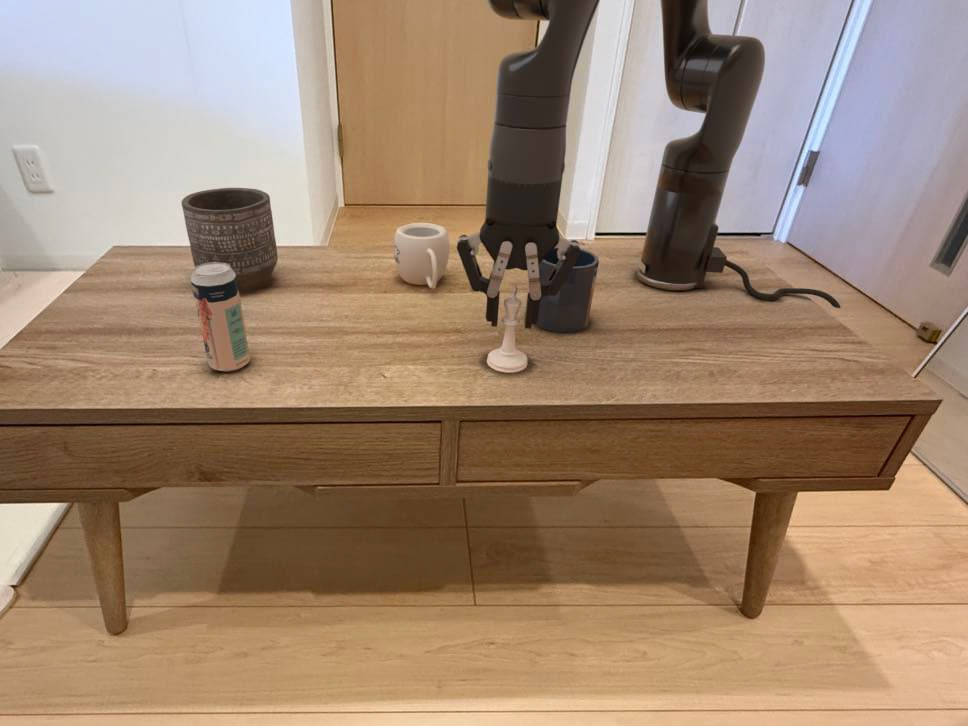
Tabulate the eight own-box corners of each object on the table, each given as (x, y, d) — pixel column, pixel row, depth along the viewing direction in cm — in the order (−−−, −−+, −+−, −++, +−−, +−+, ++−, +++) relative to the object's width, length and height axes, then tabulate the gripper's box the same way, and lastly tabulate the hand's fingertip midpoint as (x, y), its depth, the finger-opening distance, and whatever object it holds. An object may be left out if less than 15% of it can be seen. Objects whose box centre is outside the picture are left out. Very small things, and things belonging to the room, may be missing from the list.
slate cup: (584, 309, 87) (595, 248, 82) (590, 334, 81) (602, 269, 76) (529, 306, 88) (536, 245, 83) (531, 330, 81) (538, 266, 76)
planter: (199, 272, 97) (182, 189, 90) (277, 265, 100) (267, 184, 93) (197, 303, 87) (178, 213, 80) (284, 294, 90) (273, 207, 83)
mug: (389, 271, 98) (387, 223, 94) (439, 267, 100) (440, 219, 96) (407, 301, 89) (406, 249, 84) (462, 295, 91) (465, 244, 86)
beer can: (214, 354, 75) (194, 261, 68) (253, 353, 75) (237, 260, 69) (205, 375, 71) (183, 277, 64) (247, 373, 71) (229, 276, 65)
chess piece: (481, 367, 73) (487, 289, 67) (493, 349, 77) (499, 274, 71) (521, 376, 72) (530, 297, 66) (531, 357, 75) (541, 281, 70)
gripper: (592, 165, 64) (569, 315, 74) (458, 160, 66) (453, 307, 75) (600, 183, 58) (574, 344, 68) (453, 177, 59) (447, 335, 69)
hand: (510, 324), depth 71 cm, fingers open, 3 cm apart
